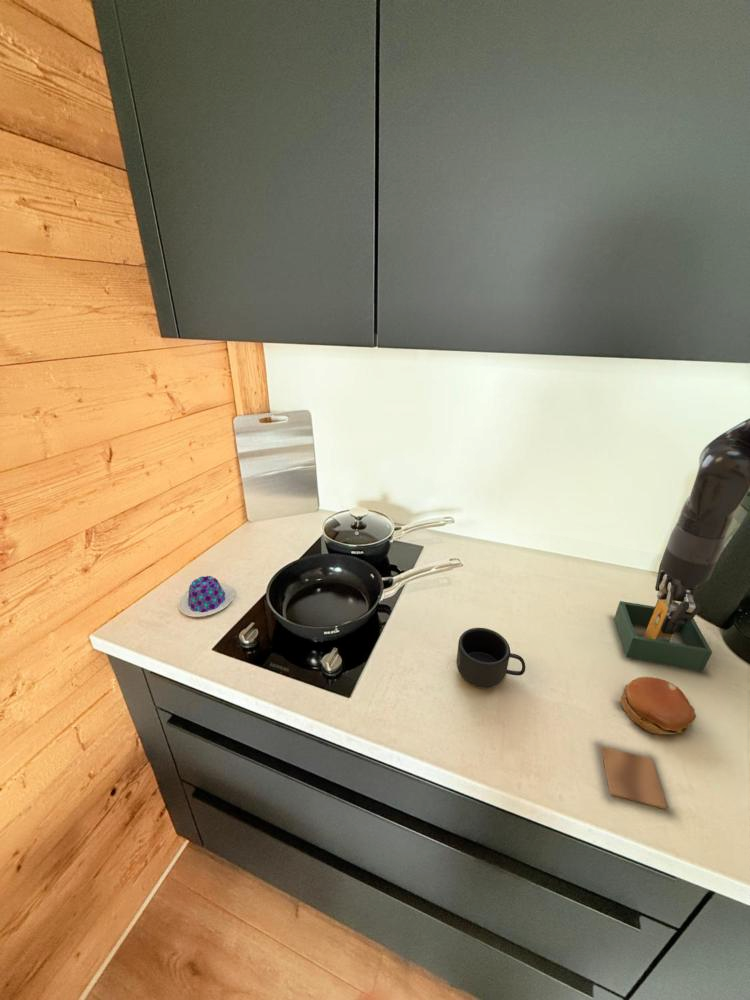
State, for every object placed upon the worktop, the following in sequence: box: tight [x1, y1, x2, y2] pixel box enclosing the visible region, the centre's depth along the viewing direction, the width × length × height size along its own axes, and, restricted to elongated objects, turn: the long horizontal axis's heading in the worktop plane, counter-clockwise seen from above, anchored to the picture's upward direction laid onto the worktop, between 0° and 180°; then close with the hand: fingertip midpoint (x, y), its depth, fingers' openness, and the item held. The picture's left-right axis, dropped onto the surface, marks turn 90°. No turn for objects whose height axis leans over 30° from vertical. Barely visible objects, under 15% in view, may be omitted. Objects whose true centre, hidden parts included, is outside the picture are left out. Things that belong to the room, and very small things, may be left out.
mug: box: [455, 627, 526, 689], centre depth 77 cm, size 12×9×7 cm
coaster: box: [600, 746, 668, 810], centre depth 62 cm, size 7×7×1 cm
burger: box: [620, 676, 697, 735], centre depth 70 cm, size 10×9×5 cm
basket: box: [613, 600, 713, 673], centre depth 84 cm, size 13×11×5 cm
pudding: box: [178, 575, 235, 618], centre depth 96 cm, size 12×12×5 cm
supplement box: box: [642, 599, 677, 642], centre depth 83 cm, size 3×3×10 cm
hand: (663, 623), depth 82 cm, fingers open, 4 cm apart
